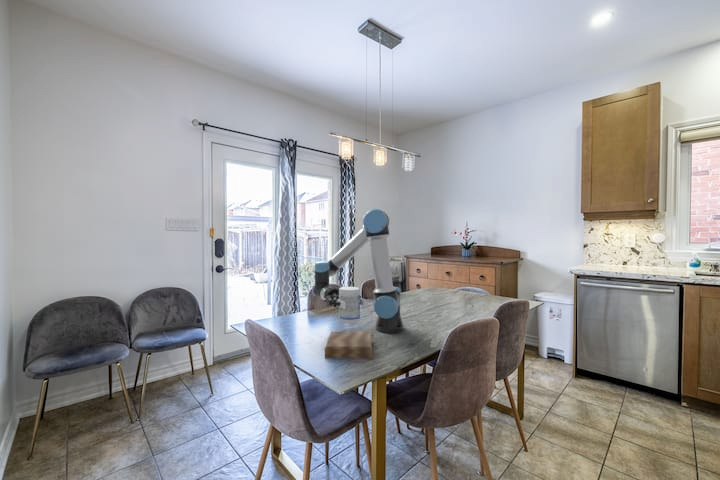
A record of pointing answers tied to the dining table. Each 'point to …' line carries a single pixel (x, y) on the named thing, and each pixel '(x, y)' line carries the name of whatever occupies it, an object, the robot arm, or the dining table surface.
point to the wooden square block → (349, 345)
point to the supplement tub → (349, 304)
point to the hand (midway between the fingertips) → (354, 304)
